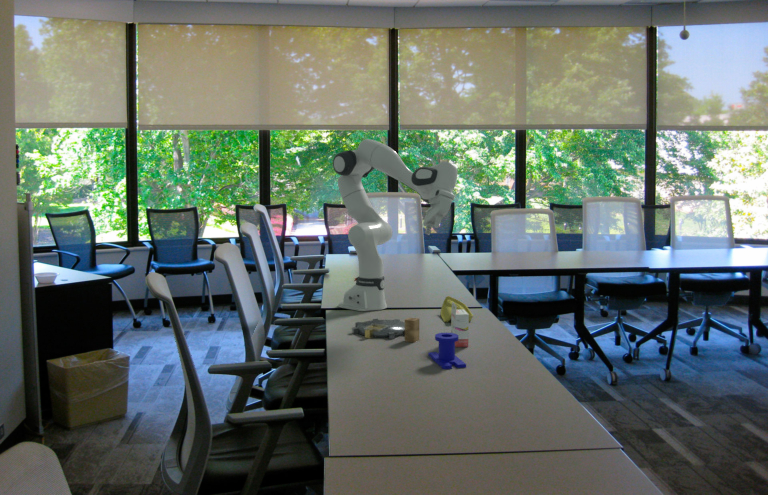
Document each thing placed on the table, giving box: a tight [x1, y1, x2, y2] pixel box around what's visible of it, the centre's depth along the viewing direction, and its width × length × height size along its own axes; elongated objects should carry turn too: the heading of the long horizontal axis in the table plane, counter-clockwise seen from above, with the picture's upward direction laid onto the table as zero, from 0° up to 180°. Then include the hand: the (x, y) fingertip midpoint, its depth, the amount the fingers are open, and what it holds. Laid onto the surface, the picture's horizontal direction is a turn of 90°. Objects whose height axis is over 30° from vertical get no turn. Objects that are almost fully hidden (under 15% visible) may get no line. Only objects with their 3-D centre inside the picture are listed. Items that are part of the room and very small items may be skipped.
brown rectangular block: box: [404, 316, 420, 343], centre depth 225 cm, size 4×4×8 cm
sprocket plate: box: [351, 318, 405, 340], centre depth 239 cm, size 24×24×3 cm
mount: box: [428, 332, 467, 370], centre depth 200 cm, size 15×8×9 cm, turn 14°
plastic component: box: [440, 295, 474, 323], centre depth 261 cm, size 20×7×10 cm
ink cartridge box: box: [450, 302, 470, 348], centre depth 220 cm, size 9×5×15 cm, turn 5°
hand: (431, 230), depth 242 cm, fingers open, 8 cm apart
